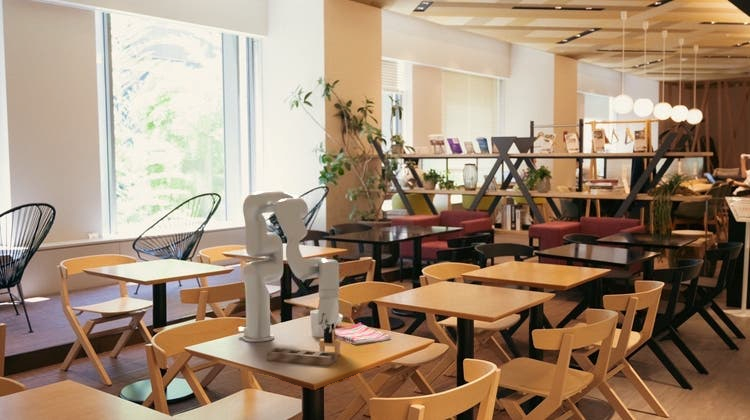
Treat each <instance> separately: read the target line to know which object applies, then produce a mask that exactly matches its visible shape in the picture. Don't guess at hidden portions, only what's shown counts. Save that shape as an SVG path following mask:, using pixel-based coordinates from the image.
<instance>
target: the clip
mask: <svg viewBox="0 0 750 420" xmlns="http://www.w3.org/2000/svg"><path fill="white" fill-rule="evenodd" d="M331 332H332V343H324V338H320V339H319V340H318V345H319V351H324V352H326V347H332V348H333V347H334V352H337V356H339V355H340V353H341V340H340V339H335V340H334V329H331Z"/></svg>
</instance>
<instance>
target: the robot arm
mask: <svg viewBox="0 0 750 420" xmlns="http://www.w3.org/2000/svg"><path fill="white" fill-rule="evenodd" d="M242 213H243V219H244V223H245V224H244V225H245V228H244V232H245V235H244V236H245V237H244V238H245V251H246V254H247V256H249V257H250V258H255V259H256V258H263V257H264V259H259V260H253V261H250V262H248V263H247V264H245V265H244V267H243V268H242V279H243V282H244V291H245V322H246V323H245V325H246V326H245V327H244V326H239V327H238V332H237V333H239V334H242V333H243V335H242V340H243V341H245V342H250V343H258V342H259V343H261V342H262V343H263V342H268V341H271V340H273V339H275V334H274V333H273V332H271V310H270V309H271V308H270V307H271V305H270V304H271V303H270V302H271V300H270V299H271V298H270V291H269V290H268V288H267V286H266V284H268V283H273V282H277V281H279V280H281V278H282V277H283V274H284V244H283V240H282V238H281V237H280V235H279V234H278V233H276V232H272V231H270V232H268V229H267V228H268V227H267V225H268V224H267V221H266V218H265V216H264V214H265V213H266V214H267V213H268V214H270V213H274V215H275V217H276V220H277V221H278V222H277V223H278V224H279V226H280V228H281V229H282V232H283V234H284V236H285V237H286V240H287V242H286V246H285V258H286V262H287V264H288V266H289V268H290V270H291V272H292V273H293V274H294V277H296V278H297V279H298V280H302V281H303V280H309V279H315V278H318V298H319V300H318V309H317V310H318V324H322V329H323V332H324V337H323V339H324V343H332V332H331V329H334V330H335V329H337V328H336V326H335V325H336V322H337V320H338V319H339V314H340V312H339V311H340V309H339V308H340V307H339V306H340V305H339V297H340V265H339V264H340V263H339V261H338V260H336V259H333V258H332V259H329V258H324V257H321V256H314V257H308V258H304V257H303V255H302V253H301V250H300V241H302V240H303V239H304V238H306V236H307V235H308V232H309V231H308V229H307V227H306V225H305V223H304V220H303V219H304V218H306V216H308V213H309V208H308V204H307V201H305V200H304V199H303V198H301V197H299V196H297V195H294V194H290V193H288V192H286V191H282V190H272V191H271V190H269V191H267V190H266V191H256V192H252V193H250V194H249V195H247V196H246V197H245V199H244V201H243V204H242ZM326 323H328V324H326ZM334 340H336V338H335V331H334Z"/></svg>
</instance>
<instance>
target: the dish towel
mask: <svg viewBox="0 0 750 420" xmlns="http://www.w3.org/2000/svg"><path fill="white" fill-rule="evenodd" d="M334 331H335V339H337V340H340V341H343V342H345V341H346V343H348V344H350V345H355V346H359V345H365V344H372V343H378V342H384V341H385V342H386V341H389V340H391V335H390V334H387V333H385V332H383V331H380V330H376V329H373V328H370V327H368V326H367V325H365V324H362V322H358V323H356V324H353V325H350V326H348V327H340V328H336V329H335V330H334Z"/></svg>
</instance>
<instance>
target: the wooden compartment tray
mask: <svg viewBox="0 0 750 420" xmlns="http://www.w3.org/2000/svg"><path fill="white" fill-rule="evenodd" d="M266 353H267V361H268V362H276V361H277V362H279V363H290V364H301V365H313V366H314V365H315V366H325V367H330V366H332V365H333V364H334V363H336V362H337V360H338V359H337V358H338V355H337V352H335V351H334V352H333V351H325V352H324V351H320V350H309V349H297V348H296V349H295V348H284V347H283V348H282V347H274V348H273V349H271V350H269V351H267V352H266Z"/></svg>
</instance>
